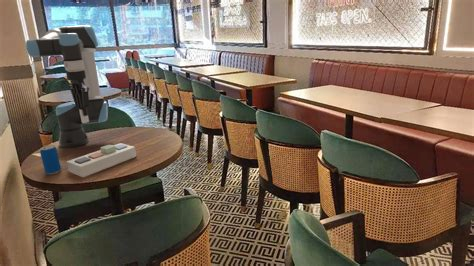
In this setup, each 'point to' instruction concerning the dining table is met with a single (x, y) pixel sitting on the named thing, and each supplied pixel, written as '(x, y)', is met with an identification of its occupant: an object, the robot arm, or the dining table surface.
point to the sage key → (107, 149)
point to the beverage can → (50, 159)
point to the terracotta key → (95, 155)
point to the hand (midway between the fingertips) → (85, 122)
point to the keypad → (101, 161)
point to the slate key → (120, 147)
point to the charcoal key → (82, 160)
